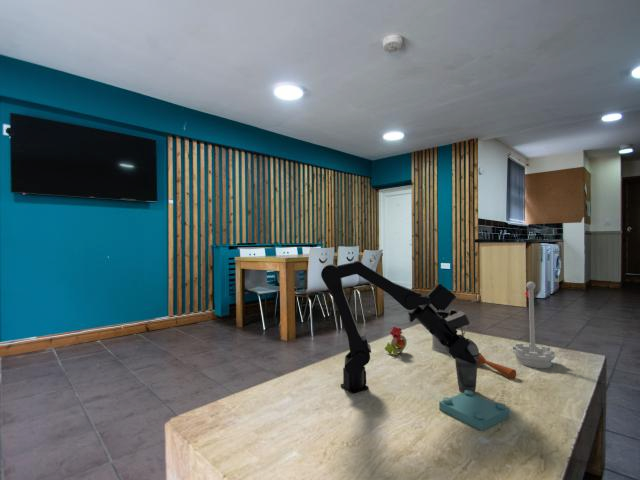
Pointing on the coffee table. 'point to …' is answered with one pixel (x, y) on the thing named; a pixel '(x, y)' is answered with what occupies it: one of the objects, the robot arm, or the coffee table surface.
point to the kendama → (498, 367)
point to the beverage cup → (467, 369)
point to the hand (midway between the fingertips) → (471, 359)
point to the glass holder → (435, 343)
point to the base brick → (474, 410)
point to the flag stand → (533, 341)
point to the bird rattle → (396, 342)
